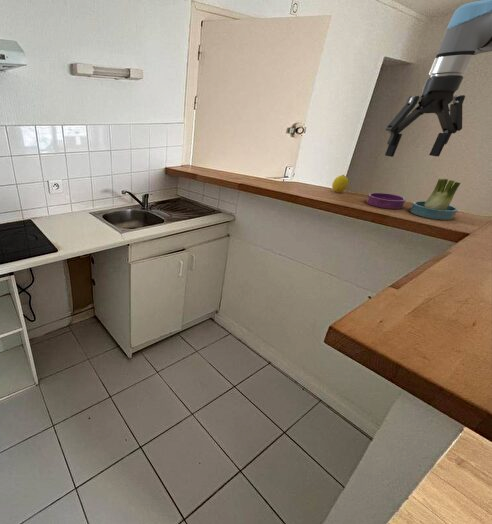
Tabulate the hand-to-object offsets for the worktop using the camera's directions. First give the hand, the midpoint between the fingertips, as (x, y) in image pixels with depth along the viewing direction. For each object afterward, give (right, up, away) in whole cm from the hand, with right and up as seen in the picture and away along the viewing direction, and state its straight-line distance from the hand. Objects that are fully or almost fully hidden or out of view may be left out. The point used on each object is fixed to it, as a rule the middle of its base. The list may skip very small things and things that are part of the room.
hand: (411, 156), depth 89 cm
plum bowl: (+8, -12, +20) cm, 24 cm away
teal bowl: (+16, -17, +10) cm, 25 cm away
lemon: (+1, -3, +35) cm, 35 cm away
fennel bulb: (+16, -17, +10) cm, 25 cm away
